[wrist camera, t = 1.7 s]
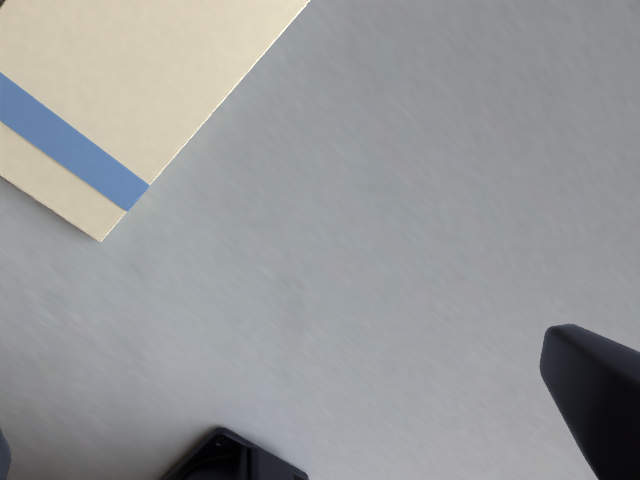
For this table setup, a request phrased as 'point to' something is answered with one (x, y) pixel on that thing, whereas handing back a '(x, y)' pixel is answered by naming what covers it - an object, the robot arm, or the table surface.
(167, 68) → the towel
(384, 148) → the table surface
